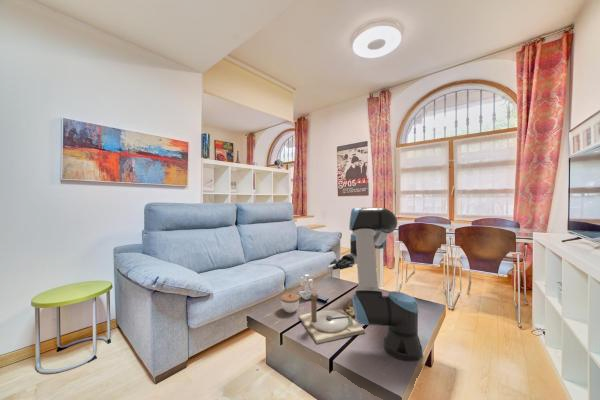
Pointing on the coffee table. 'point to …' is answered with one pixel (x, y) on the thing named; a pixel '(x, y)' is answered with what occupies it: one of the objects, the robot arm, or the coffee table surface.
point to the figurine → (306, 287)
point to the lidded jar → (290, 302)
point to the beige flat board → (323, 336)
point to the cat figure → (350, 310)
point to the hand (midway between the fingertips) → (328, 269)
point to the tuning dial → (326, 318)
